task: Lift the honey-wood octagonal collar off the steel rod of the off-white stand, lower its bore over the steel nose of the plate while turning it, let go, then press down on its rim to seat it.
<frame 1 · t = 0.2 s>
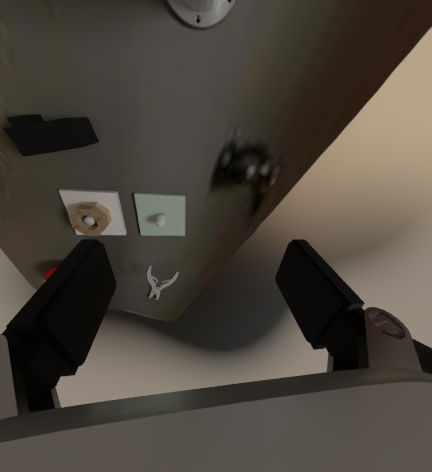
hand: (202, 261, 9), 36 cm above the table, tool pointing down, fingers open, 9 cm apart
stand: (97, 213, 45), on the table
digital camera: (67, 130, 35), on the table
pliers: (159, 282, 62), on the table
plate: (162, 215, 47), on the table
strawberry: (72, 262, 52), on the table
collar: (95, 214, 44), point 1 cm above the table, touching stand
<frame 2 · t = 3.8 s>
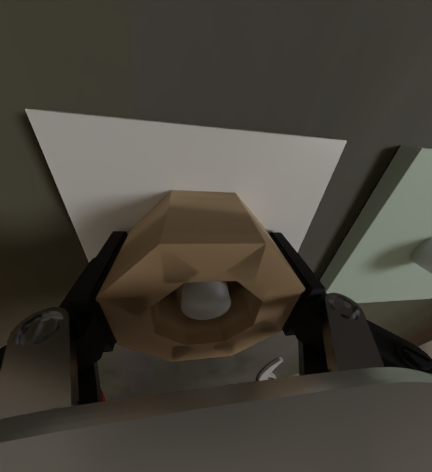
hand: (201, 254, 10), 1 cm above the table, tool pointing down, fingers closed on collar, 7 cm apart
stand: (200, 240, 11), on the table
pliers: (274, 376, 28), on the table
plate: (413, 240, 13), on the table
collar: (201, 251, 10), point 1 cm above the table, touching gripper, stand
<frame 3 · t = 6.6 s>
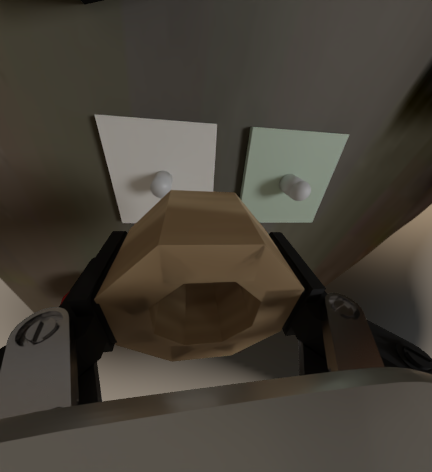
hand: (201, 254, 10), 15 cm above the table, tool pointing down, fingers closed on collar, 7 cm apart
stand: (165, 176, 22), on the table
plate: (284, 180, 24), on the table
collar: (200, 251, 10), point 15 cm above the table, touching gripper
when the fingers open (4 cm above the table, at t = 9.6 s): collar drops 2 cm, resting on plate.
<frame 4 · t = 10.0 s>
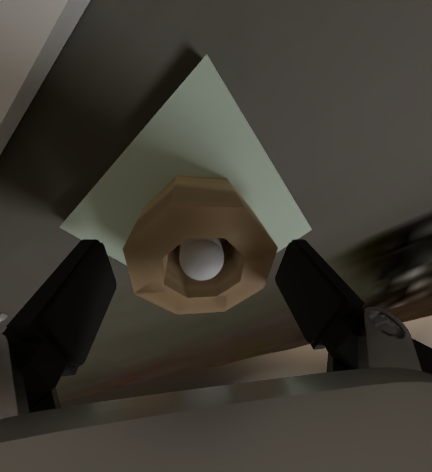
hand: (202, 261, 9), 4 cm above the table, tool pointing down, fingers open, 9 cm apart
plate: (198, 221, 13), on the table
collar: (199, 229, 12), point 1 cm above the table, touching plate
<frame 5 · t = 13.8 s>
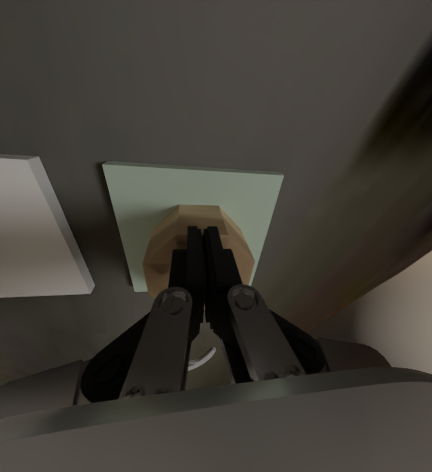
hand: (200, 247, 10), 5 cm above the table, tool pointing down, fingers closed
pliers: (174, 362, 31), on the table
plate: (196, 236, 16), on the table
collar: (198, 242, 15), point 1 cm above the table, touching gripper, plate
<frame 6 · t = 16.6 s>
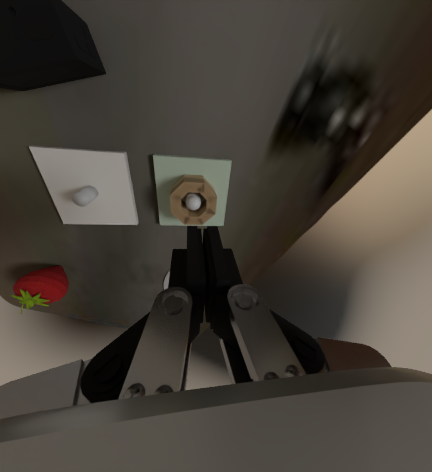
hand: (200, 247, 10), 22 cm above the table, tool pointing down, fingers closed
stand: (94, 189, 29), on the table
digital camera: (51, 51, 20), on the table
plate: (192, 193, 31), on the table
strawberry: (60, 266, 37), on the table
collar: (193, 195, 30), point 1 cm above the table, touching plate
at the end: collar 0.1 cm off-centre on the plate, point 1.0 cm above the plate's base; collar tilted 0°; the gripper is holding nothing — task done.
